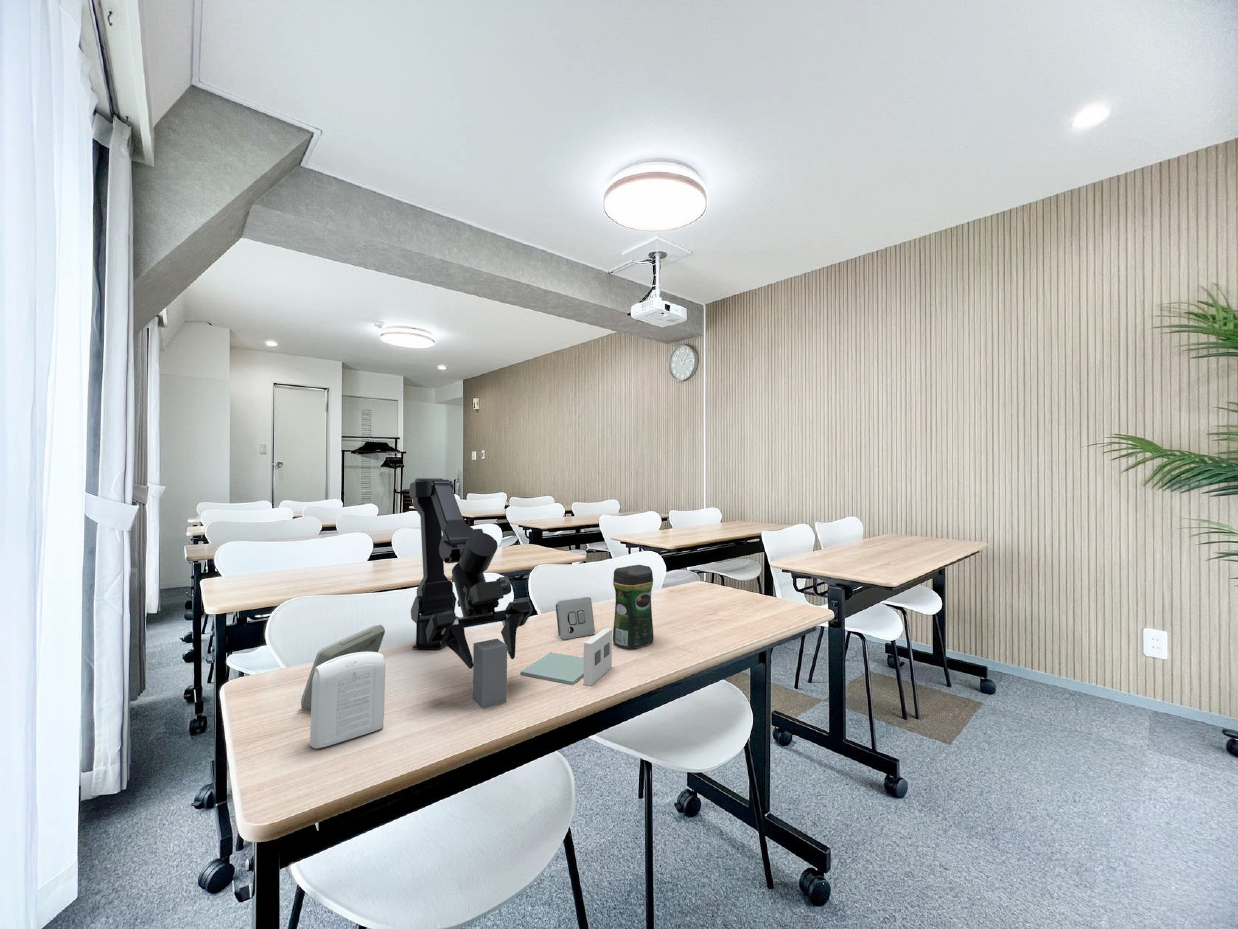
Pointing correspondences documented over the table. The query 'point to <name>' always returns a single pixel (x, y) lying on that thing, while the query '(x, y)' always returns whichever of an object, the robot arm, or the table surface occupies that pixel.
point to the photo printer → (347, 698)
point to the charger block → (489, 673)
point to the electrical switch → (575, 618)
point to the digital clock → (344, 653)
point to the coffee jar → (633, 606)
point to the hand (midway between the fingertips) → (493, 662)
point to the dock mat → (557, 668)
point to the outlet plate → (597, 656)
